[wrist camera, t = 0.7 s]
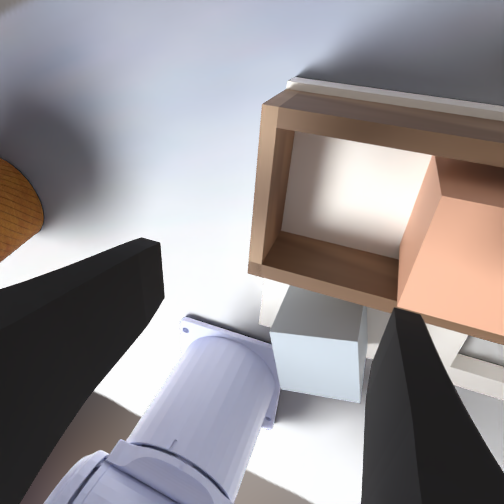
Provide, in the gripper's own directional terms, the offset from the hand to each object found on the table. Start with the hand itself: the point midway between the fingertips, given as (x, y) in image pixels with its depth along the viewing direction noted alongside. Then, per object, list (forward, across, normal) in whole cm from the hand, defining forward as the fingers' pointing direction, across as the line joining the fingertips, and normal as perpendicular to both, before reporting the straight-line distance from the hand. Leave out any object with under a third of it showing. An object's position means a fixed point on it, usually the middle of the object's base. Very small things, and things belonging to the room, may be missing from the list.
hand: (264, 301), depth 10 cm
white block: (+9, -2, +8) cm, 12 cm away
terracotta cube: (+9, -6, 0) cm, 11 cm away
